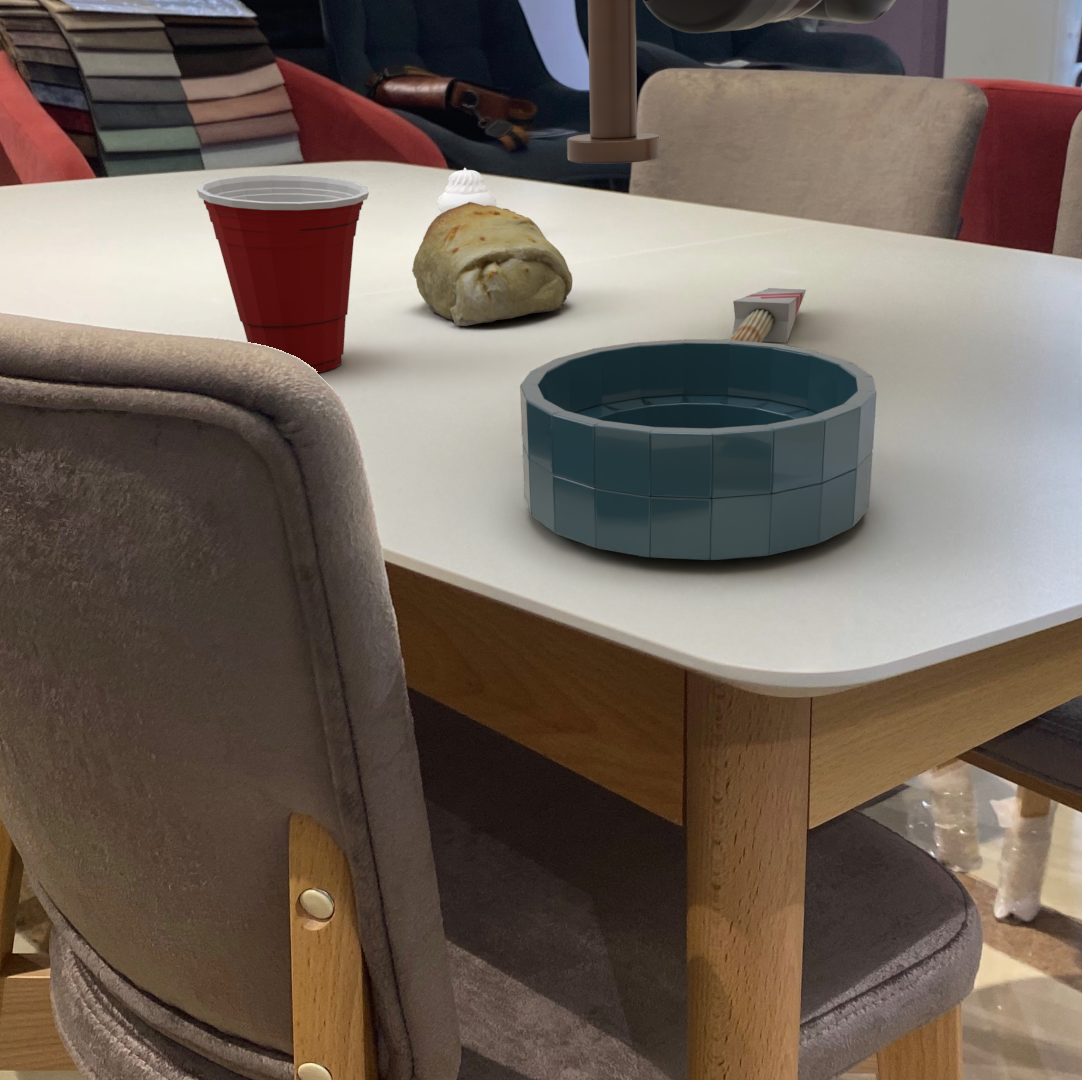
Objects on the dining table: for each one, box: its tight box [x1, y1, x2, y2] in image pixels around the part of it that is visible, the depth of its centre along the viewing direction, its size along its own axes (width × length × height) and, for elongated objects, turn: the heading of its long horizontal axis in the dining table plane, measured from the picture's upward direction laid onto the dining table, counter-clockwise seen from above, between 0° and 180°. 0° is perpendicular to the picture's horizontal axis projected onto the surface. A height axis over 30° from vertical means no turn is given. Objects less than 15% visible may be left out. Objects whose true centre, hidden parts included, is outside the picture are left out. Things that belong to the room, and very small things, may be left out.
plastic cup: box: [196, 174, 370, 373], centre depth 85 cm, size 11×11×12 cm
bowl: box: [519, 338, 878, 561], centre depth 59 cm, size 16×16×6 cm
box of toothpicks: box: [728, 287, 807, 344], centre depth 89 cm, size 4×3×20 cm
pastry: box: [411, 202, 574, 327], centre depth 100 cm, size 14×12×8 cm
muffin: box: [436, 167, 498, 214], centre depth 133 cm, size 6×6×7 cm
